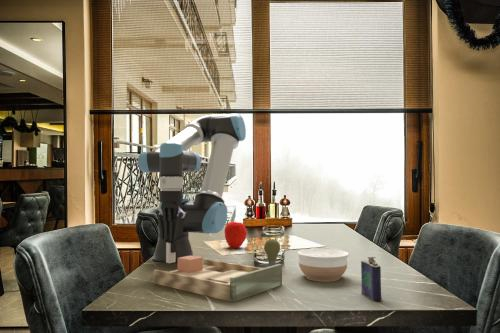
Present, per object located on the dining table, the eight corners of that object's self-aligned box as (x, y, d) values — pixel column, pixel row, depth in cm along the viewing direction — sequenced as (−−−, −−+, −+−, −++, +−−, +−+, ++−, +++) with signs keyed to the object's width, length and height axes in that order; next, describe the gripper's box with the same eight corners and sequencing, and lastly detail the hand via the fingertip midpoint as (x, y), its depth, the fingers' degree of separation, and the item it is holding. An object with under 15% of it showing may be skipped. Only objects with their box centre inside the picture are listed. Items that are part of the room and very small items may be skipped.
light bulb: (282, 266, 152) (281, 238, 152) (277, 269, 147) (277, 240, 147) (266, 265, 154) (266, 237, 154) (262, 268, 149) (262, 239, 149)
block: (177, 270, 134) (177, 257, 134) (190, 267, 138) (190, 255, 139) (189, 273, 131) (189, 260, 131) (202, 270, 135) (202, 257, 135)
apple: (250, 247, 195) (250, 220, 195) (238, 250, 186) (238, 222, 187) (232, 245, 200) (232, 219, 200) (220, 248, 192) (220, 220, 192)
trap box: (153, 283, 128) (153, 263, 128) (205, 270, 146) (205, 252, 146) (233, 302, 109) (233, 278, 109) (281, 284, 126) (281, 264, 126)
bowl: (317, 286, 125) (317, 258, 125) (287, 275, 139) (287, 250, 140) (359, 280, 133) (359, 254, 133) (327, 270, 147) (327, 246, 147)
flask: (359, 292, 118) (359, 253, 118) (369, 292, 118) (369, 253, 119) (373, 302, 109) (373, 260, 109) (384, 302, 109) (384, 259, 109)
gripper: (149, 189, 142) (148, 261, 141) (176, 190, 134) (175, 266, 133) (166, 189, 148) (166, 258, 147) (193, 190, 140) (193, 263, 139)
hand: (170, 262), depth 140 cm, fingers closed
